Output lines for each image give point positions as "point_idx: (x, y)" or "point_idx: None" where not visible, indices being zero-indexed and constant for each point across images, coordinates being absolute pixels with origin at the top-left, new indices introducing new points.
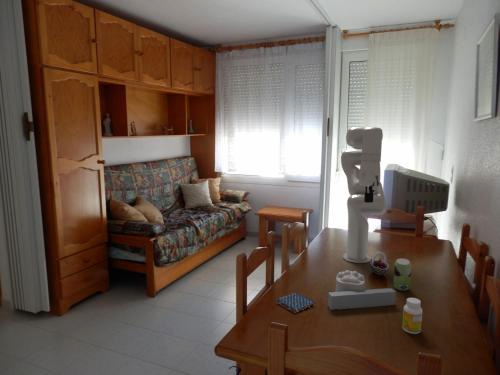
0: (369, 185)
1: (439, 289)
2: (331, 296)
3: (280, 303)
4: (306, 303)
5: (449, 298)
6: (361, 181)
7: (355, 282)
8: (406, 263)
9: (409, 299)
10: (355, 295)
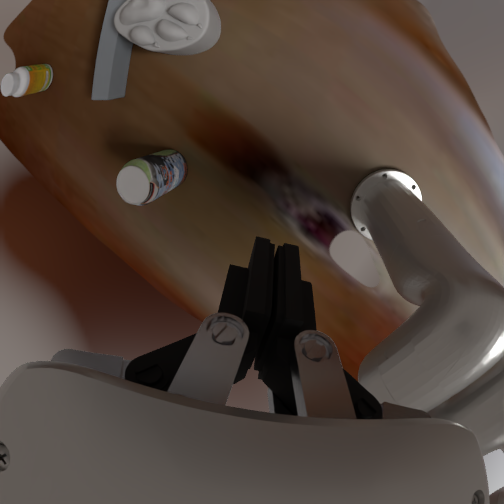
0: (21, 365)
1: (149, 238)
2: None
3: None
4: None
5: (113, 222)
6: (387, 480)
7: (122, 9)
8: (121, 185)
9: (9, 79)
10: (109, 4)
